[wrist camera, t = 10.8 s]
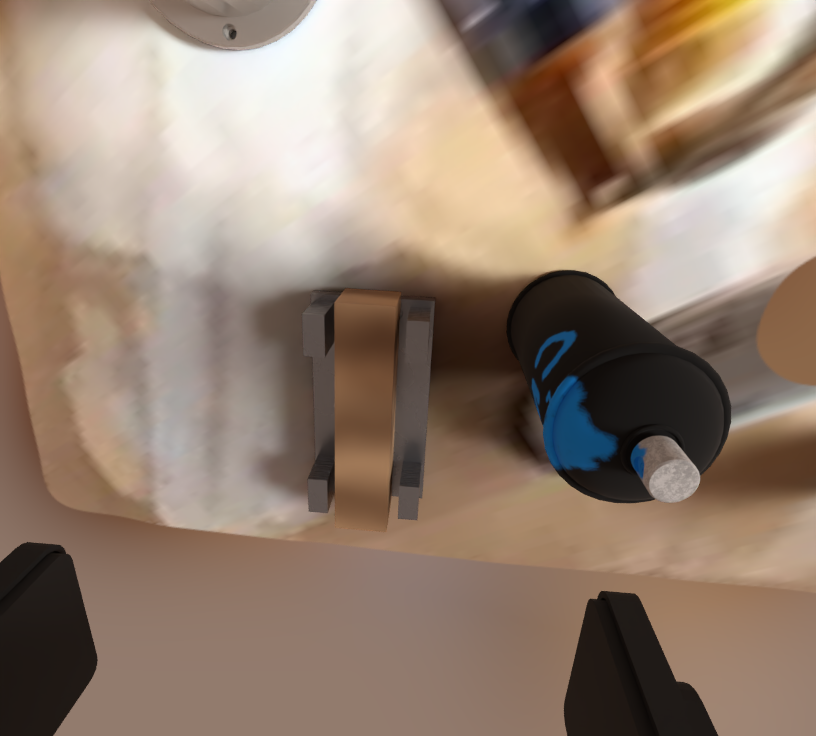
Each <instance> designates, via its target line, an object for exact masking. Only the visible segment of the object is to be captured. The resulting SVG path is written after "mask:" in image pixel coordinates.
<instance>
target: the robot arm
mask: <svg viewBox="0 0 816 736" xmlns="http://www.w3.org/2000/svg"><path fill="white" fill-rule="evenodd" d="M149 1H150V2H151V3H152V5H153V6H154V7H155V8H156V9H157V10H158V11H159V12H160V13H161V14H162V15H163V16H164V17H165V18H166V19H167V20H168V21H169V22H170V23H171V24H173V25H174V26H176V27H177V28H179V29H180V30H182V31H183V32H184V33H186V34H187V35H189V36H191V37H193V38H195V39H197V40H199V41H201V42H203V43H206V44H210V45H213V46H216V47H219V48H222V49H233V50H246V49H254V48H260V47H263V46H265V45H268V44H271V43H273V42H276V41H278V40H279V39H281V38H282V37H284V36H285V35H287V34H288V33H290V32H291V31H293V30H294V29H295V28H296V27H297V26H298V25H299V23H300V22H301V21H302V20H303V19H304V18H305V17H306V16H307V15H308V13H309V12H310V10H311V9H312V7H313V6H314V4H315V2H316V1H317V0H149ZM233 31H236V32H237V34H236V37H235V39H232V36H231V35H232V32H233ZM96 666H97V654H96V650H95V646H94V642H93V638H92V634H91V630H90V626H89V623H88V619H87V615H86V611H85V607H84V603H83V599H82V595H81V591H80V587H79V584H78V580H77V576H76V572H75V568H74V564H73V560H72V558H71V556H70V555H69V554H66V552H65V550H64V548H63V547H61V545H54V544H43V543H31V542H27V543H24V544H21V545H20V546H19V547H17V548H16V549H15V550H14V551H12V552H11V553H10V554H9V555H8V556H7V557H6V558H5V559H4V560H3V561H1V562H0V736H53V735H54V734H55V732H56V731H57V729H58V728H59V726H60V725H61V723H62V721H63V720H64V719H65V717H66V716H67V714H68V713H69V711H70V710H71V708H72V707H73V706H74V704H75V703H76V701H77V699H78V698H79V697H80V695H81V694H82V692H83V691H84V689H85V688H86V686H87V685H88V684H89V682H90V680H91V679H92V677H93V675H94V672H95V670H96ZM564 718H565V726H566V731H567V736H718V734H717V732H716V730H715V728H714V726H713V724H712V722H711V719H710V717H709V715H708V713H707V711H706V709H705V707H704V705H703V702H702V701H701V699H700V697H699V695H698V694H697V692H696V691H695V689H694V688H693V687H692V686H691V685H690V684H687V683H684V682H676V680H675V678H674V675H673V673H672V671H671V669H670V666H669V664H668V662H667V660H666V657H665V655H664V653H663V651H662V648H661V646H660V644H659V641H658V639H657V637H656V635H655V632H654V630H653V628H652V626H651V623H650V621H649V619H648V616H647V614H646V612H645V610H644V607H643V605H642V603H641V601H640V599H639V597H638V596H637V595H636V594H631V593H620V592H608V591H601V592H600V593H599V595H598V598H597V599H589V601H588V603H587V607H586V611H585V616H584V620H583V624H582V628H581V633H580V637H579V641H578V646H577V650H576V654H575V659H574V663H573V667H572V671H571V676H570V680H569V685H568V689H567V693H566V697H565V703H564Z"/></svg>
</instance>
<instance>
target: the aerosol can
mask: <svg viewBox="0 0 816 736" xmlns="http://www.w3.org/2000/svg"><path fill="white" fill-rule="evenodd" d="M507 337H508V342H509V345H510V347H511V350H512V352H513V353H514V355H515V357H516V358H517V360H518V361H519V362H520V364H521V367H522V370H523V373H524V375H525V378H526V381H527V384H528V386H529V389H530V392H531V394H532V397H533V400H534V403H535V405H536V408H537V411H538V414H539V416H540V419H541V422H542V425H543V427H544V429H543V437H544V444H545V450H546V452H547V455H548V457H549V460H550V462H551V464H552V465H553V467H554V468H555V470H556V471H557V473H558V474H559V475H560V476H561V477H562V478H563V479H564V480H565V481H566V482H567V483H568V484H569V485H570V486H572V487H573V488H575V489H577V490H578V491H580V492H581V493H583V494H585V495H588V496H590V497H593V498H596V499H598V500H603V501H608V502H613V503H638V502H646V501H651V500H655V499H656V500H658V501H661V502H666V503H673V502H679V501H682V500H684V499H686V498H688V497H689V496H691V495H692V494H693V493H694V492H695V491H696V489H697V488H698V485H699V482H700V476H701V475H702V474H703V473H704V472H705V471H706V470H707V469H708V468H709V467H710V466H711V464H712V463H713V462H714V460H715V459H716V458H717V456H718V455H719V454H720V452H721V450H722V448H723V446H724V444H725V441H726V439H727V437H728V432H729V428H730V424H731V404H730V400H729V396H728V392H727V389H726V387H725V385H724V383H723V382H722V380H721V378H720V376H719V374H718V373H717V372H716V371H715V370H714V369H713V368H712V367H711V366H710V364H709V363H708V362H706V361H705V360H703V359H702V358H700V357H699V356H697V355H696V354H695V353H693V352H690V351H688V350H685V349H683V348H680V347H678V346H676V345H675V344H674V343H672V342H671V341H670V340H669V339H667V338H666V337H665V336H664V335H662V334H661V333H660V332H659V331H658V330H656V329H655V328H654V327H653V326H651V325H650V324H649V323H648V322H646V321H645V320H644V319H643V318H641V317H640V316H639V315H638V314H636V313H635V312H634V311H633V310H632V309H630V308H629V307H628V306H627V305H625V304H624V303H623V302H622V301H620V300H619V299H618V298H617V297H616V296H615V294H614V293H613V291H612V290H611V289H610V288H609V287H608V285H607V284H606V283H604V282H603V281H602V280H600V279H599V278H597V277H595V276H593V275H591V274H588V273H586V272H580V271H575V270H568V271H558V272H553V273H550V274H547V275H545V276H542V277H540V278H538V279H537V280H535V281H534V282H532V283H530V284H529V285H528V286H527V287H526V288H525V289H524V290H523V291H522V292H521V293H520V294H519V296H518V297H517V298H516V300H515V301H514V303H513V305H512V308H511V310H510V312H509V316H508V320H507Z"/></svg>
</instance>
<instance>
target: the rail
mask: <svg viewBox="0 0 816 736" xmlns="http://www.w3.org/2000/svg"><path fill="white" fill-rule="evenodd" d="M400 304H401V292H395V291H380V290H365V289H350V288H345V290H344V291H343V292H342V293H341V295H340V296H339V297H338V299H337V300H336V301H335V302H334V328H335V528H344V529H356V530H367V531H379V532H386V530H387V524H388V518H389V511H390V505H391V495H392V474H393V453H394V431H395V410H396V389H397V368H398V347H399V325H400Z"/></svg>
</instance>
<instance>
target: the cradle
mask: <svg viewBox="0 0 816 736" xmlns="http://www.w3.org/2000/svg"><path fill="white" fill-rule="evenodd" d="M341 293H342V292H331V291H315V290H314V291H313V292H312V293H311V305H310V306H309V307H308V308H307V309H306V310H305V311H304V312H303V313H302V333H303V356H309V357H312V360H313V396H314V432H315V463H314V465H313V468H312V470H311V472H310V475H309V477H308V505H309V512H321V513H328V511H329V508H330V505H331V502H332V499H333V496H334V493H335V328H334V302H335V301H336V300H337V299H338V297H339V296H340V295H341ZM434 308H435V298H432V297H415V296H401V304H400V325H399V347H398V368H397V389H396V410H395V431H394V453H393V474H392V495H391V496H399V506H398V519H409V520H417V517H418V504H419V498H422V492H423V476H424V461H425V446H426V431H427V415H428V400H429V385H430V369H431V354H432V339H433V323H434Z"/></svg>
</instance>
